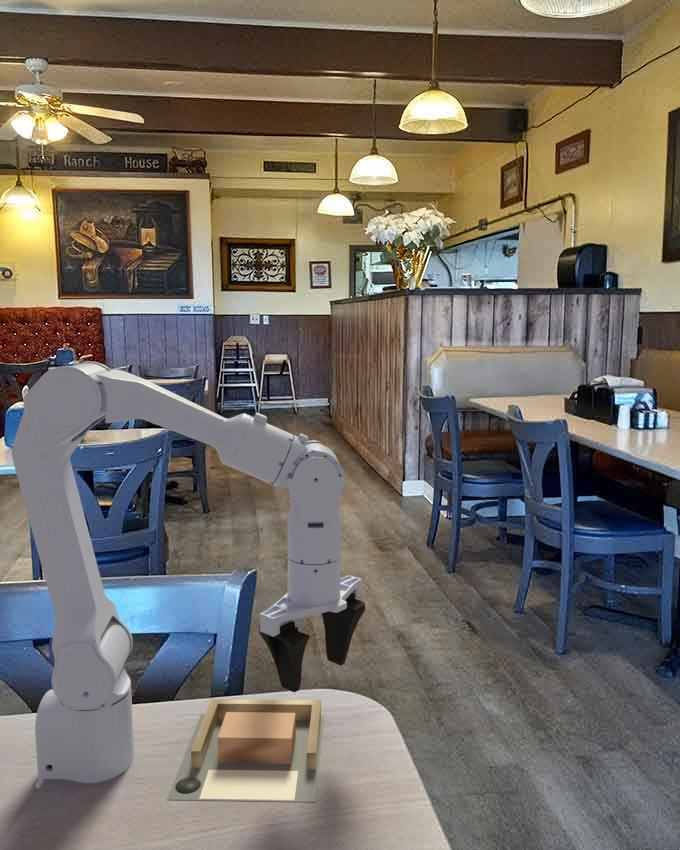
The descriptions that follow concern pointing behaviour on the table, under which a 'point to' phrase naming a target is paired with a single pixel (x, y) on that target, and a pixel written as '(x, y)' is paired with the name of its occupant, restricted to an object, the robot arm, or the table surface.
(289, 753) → the terracotta slab
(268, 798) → the floor board
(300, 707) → the oak cubby
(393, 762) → the table surface
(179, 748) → the table surface
